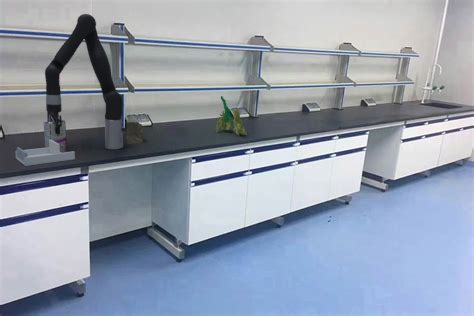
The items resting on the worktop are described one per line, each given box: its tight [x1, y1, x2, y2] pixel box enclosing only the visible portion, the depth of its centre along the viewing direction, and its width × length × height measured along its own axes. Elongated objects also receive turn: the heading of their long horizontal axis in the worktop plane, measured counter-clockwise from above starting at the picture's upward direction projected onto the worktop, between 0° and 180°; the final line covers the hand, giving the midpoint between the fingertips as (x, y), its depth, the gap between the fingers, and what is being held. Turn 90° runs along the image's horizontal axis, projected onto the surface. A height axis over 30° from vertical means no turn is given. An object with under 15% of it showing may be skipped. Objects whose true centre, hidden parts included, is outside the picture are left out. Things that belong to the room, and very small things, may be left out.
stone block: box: [125, 118, 144, 145], centre depth 253 cm, size 10×15×15 cm
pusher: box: [49, 140, 66, 154], centre depth 210 cm, size 5×12×7 cm, turn 44°
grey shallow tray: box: [15, 146, 76, 167], centre depth 206 cm, size 24×14×6 cm, turn 134°
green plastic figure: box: [215, 95, 248, 138], centre depth 292 cm, size 26×17×30 cm, turn 47°
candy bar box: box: [43, 119, 68, 150], centre depth 222 cm, size 11×5×16 cm, turn 158°
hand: (54, 132), depth 221 cm, fingers open, 8 cm apart
